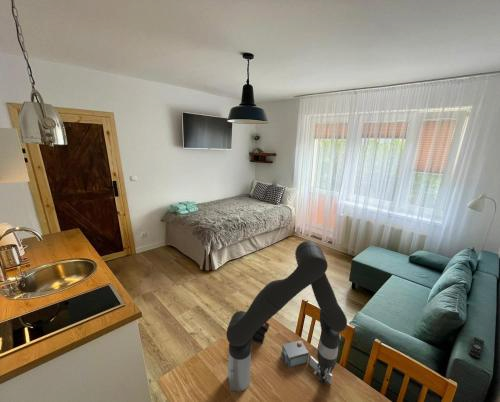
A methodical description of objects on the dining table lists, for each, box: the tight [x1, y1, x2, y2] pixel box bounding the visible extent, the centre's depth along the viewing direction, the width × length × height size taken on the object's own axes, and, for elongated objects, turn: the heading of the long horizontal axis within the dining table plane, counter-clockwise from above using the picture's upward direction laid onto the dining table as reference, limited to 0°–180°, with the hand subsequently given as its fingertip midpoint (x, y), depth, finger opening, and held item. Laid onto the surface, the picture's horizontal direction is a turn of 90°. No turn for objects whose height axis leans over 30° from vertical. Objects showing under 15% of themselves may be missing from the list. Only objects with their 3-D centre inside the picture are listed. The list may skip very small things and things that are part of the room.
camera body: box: [280, 339, 309, 368], centre depth 106 cm, size 12×7×7 cm, turn 106°
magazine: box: [252, 322, 270, 345], centre depth 116 cm, size 4×13×15 cm, turn 70°
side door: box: [307, 354, 333, 385], centre depth 100 cm, size 12×1×5 cm, turn 38°
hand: (322, 381), depth 96 cm, fingers closed
